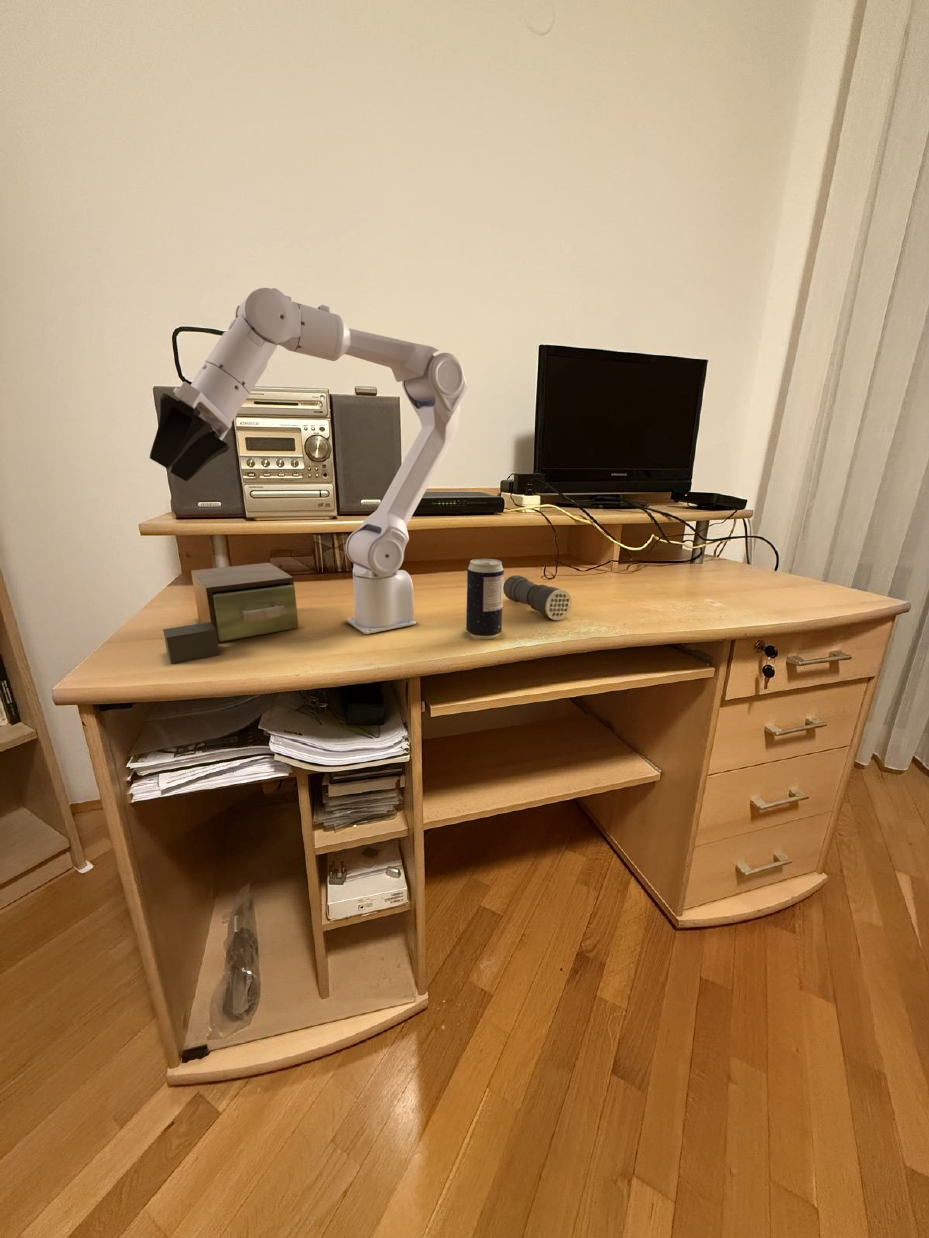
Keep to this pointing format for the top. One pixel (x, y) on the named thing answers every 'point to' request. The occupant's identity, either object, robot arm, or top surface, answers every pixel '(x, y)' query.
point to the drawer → (255, 610)
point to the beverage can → (484, 598)
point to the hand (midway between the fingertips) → (169, 470)
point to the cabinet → (232, 585)
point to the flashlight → (538, 597)
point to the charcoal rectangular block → (191, 642)
